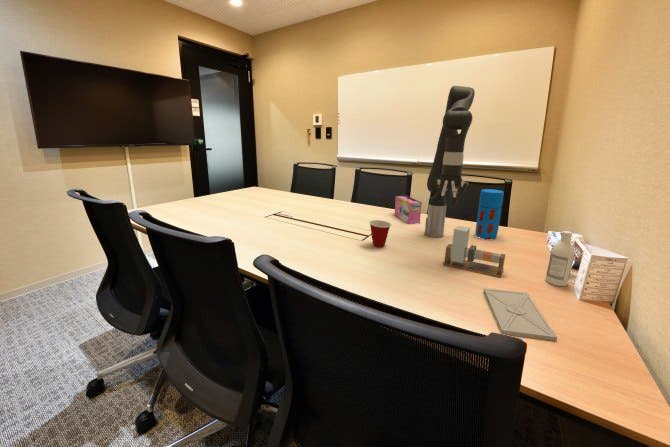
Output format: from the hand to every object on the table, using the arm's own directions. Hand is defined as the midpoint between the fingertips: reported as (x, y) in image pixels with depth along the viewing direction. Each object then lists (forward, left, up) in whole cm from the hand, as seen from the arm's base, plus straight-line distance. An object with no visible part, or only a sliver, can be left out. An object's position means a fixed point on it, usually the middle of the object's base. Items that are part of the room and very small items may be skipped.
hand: (448, 205), depth 130 cm
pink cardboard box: (-38, +57, -25) cm, 73 cm away
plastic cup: (-31, +2, -25) cm, 40 cm away
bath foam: (+42, +3, -25) cm, 49 cm away
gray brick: (+11, 0, -22) cm, 25 cm away
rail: (+13, 0, -25) cm, 28 cm away
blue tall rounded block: (+11, +47, -25) cm, 54 cm away
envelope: (+30, -30, -26) cm, 50 cm away
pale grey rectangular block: (+7, 0, -23) cm, 24 cm away
